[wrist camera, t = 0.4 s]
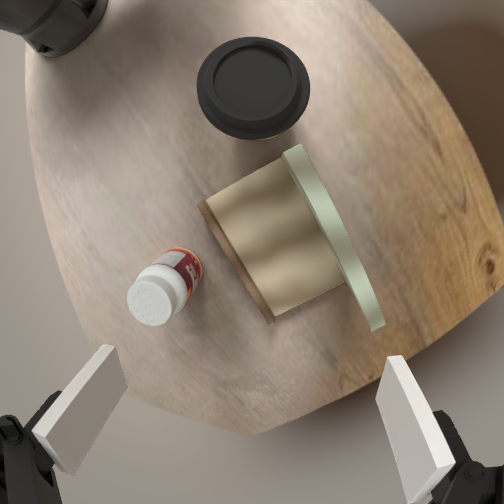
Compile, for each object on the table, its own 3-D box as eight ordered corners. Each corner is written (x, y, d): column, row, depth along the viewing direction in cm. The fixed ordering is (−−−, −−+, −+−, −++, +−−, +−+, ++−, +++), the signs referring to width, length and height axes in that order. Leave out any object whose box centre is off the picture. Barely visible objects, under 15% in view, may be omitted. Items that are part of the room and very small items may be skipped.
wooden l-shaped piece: (203, 201, 37) (163, 222, 23) (291, 151, 34) (300, 143, 21) (269, 311, 40) (265, 378, 27) (352, 271, 38) (386, 324, 24)
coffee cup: (274, 162, 35) (273, 160, 20) (210, 126, 34) (167, 103, 20) (312, 101, 32) (335, 61, 18) (247, 66, 31) (229, 11, 17)
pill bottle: (205, 288, 40) (182, 332, 29) (163, 289, 41) (129, 330, 30) (200, 244, 38) (171, 275, 28) (156, 247, 39) (116, 277, 28)
